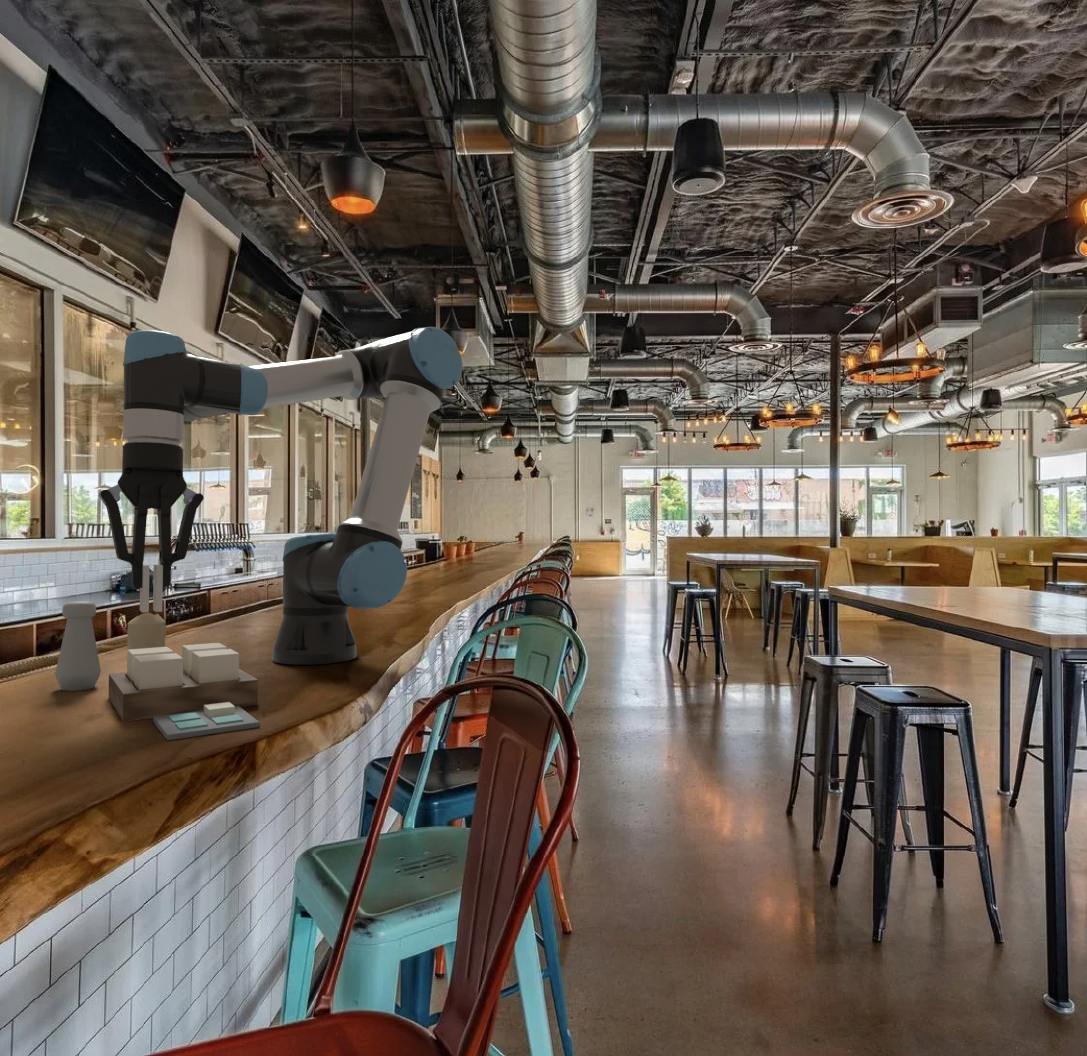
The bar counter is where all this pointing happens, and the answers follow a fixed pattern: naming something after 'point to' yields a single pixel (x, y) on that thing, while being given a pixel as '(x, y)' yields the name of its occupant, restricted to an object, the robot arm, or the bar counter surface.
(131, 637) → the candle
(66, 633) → the salt shaker
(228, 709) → the card
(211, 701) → the button board
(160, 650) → the button
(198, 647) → the back left button
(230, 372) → the robot arm
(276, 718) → the bar counter surface
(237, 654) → the button
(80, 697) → the bar counter surface
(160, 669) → the button
